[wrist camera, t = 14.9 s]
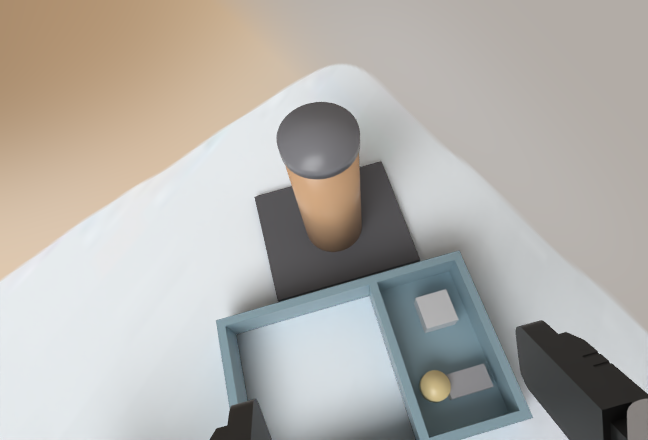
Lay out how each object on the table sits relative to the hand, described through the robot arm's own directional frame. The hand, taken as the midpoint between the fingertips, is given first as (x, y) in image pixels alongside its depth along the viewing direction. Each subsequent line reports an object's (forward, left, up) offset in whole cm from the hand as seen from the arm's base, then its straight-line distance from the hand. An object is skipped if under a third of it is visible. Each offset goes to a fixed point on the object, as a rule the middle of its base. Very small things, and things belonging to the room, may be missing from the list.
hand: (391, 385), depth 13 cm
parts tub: (0, -3, -21) cm, 21 cm away
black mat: (-1, -15, -21) cm, 26 cm away
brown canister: (-1, -15, -20) cm, 25 cm away
